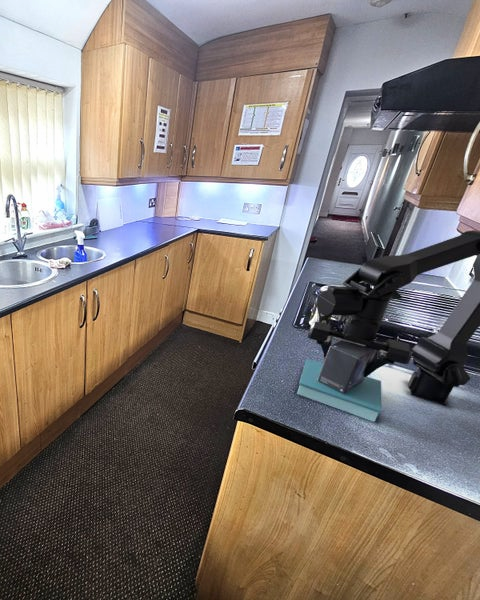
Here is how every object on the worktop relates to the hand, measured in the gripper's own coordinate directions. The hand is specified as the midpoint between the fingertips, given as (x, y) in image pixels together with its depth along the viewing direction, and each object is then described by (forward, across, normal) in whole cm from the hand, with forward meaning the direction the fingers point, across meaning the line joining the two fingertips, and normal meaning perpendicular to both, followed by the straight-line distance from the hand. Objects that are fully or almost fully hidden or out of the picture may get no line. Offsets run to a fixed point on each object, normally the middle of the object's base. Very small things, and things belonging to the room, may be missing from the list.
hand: (345, 370), depth 81 cm
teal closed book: (+7, 0, 0) cm, 7 cm away
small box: (+4, 0, 0) cm, 4 cm away
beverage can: (+7, +8, -40) cm, 41 cm away
